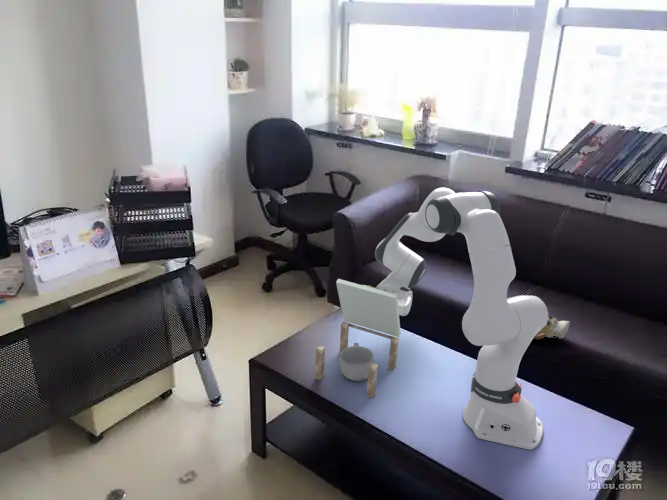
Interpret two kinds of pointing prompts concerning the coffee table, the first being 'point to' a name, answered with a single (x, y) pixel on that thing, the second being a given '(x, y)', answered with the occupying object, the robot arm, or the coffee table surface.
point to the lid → (369, 307)
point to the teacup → (356, 362)
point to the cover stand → (372, 367)
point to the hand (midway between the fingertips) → (371, 310)
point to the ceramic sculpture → (553, 328)
